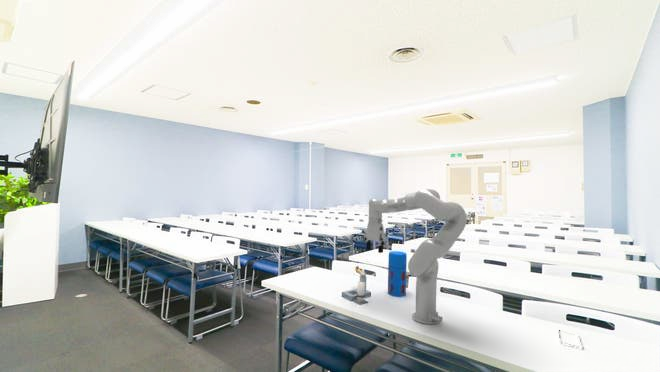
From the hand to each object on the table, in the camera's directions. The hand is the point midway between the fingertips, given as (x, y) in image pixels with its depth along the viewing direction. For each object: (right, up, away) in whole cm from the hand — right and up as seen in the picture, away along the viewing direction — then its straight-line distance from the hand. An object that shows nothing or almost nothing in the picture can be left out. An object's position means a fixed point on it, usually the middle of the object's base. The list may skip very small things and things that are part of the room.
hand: (374, 251), depth 166 cm
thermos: (+16, -29, +13) cm, 35 cm away
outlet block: (-10, -28, +6) cm, 31 cm away
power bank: (+78, -30, -40) cm, 93 cm away
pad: (-8, -28, -2) cm, 29 cm away
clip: (-7, -17, +15) cm, 24 cm away
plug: (-8, -27, -2) cm, 29 cm away
